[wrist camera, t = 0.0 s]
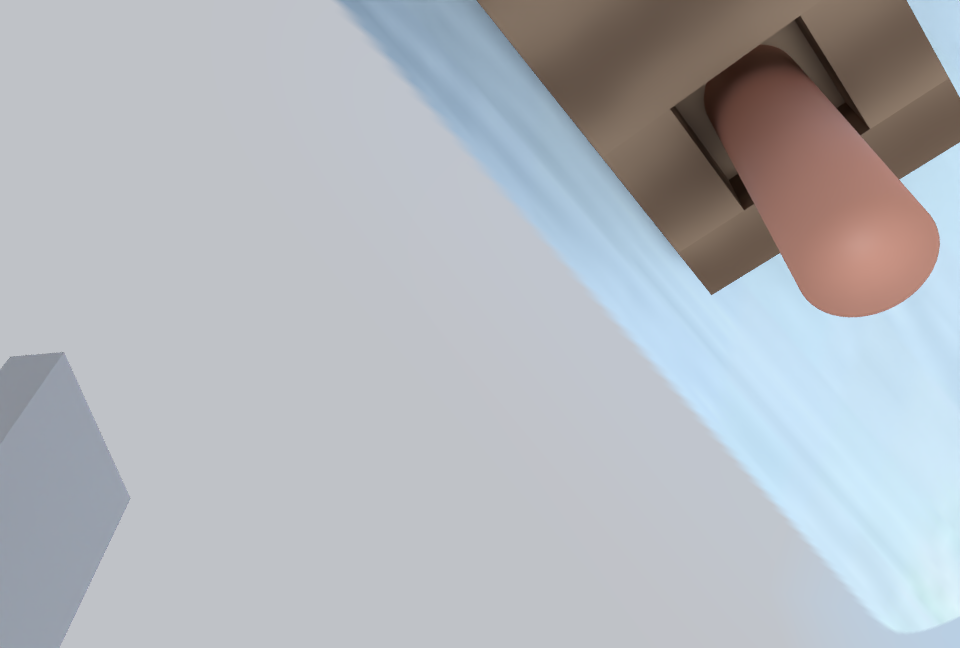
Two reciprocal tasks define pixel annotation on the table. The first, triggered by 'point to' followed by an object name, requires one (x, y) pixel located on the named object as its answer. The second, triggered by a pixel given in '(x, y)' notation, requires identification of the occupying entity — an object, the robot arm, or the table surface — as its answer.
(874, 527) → the table surface
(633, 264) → the table surface
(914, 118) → the hole board
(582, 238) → the table surface
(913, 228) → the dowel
